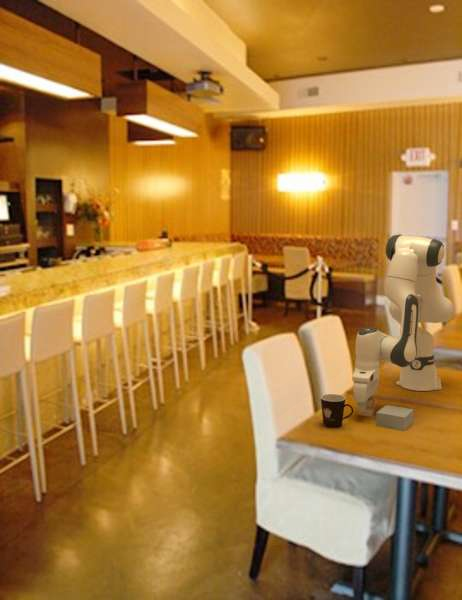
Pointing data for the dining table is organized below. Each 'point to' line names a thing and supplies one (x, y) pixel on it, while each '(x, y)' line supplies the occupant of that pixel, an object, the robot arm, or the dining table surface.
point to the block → (395, 417)
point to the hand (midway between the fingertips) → (366, 408)
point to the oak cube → (368, 407)
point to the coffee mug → (333, 410)
